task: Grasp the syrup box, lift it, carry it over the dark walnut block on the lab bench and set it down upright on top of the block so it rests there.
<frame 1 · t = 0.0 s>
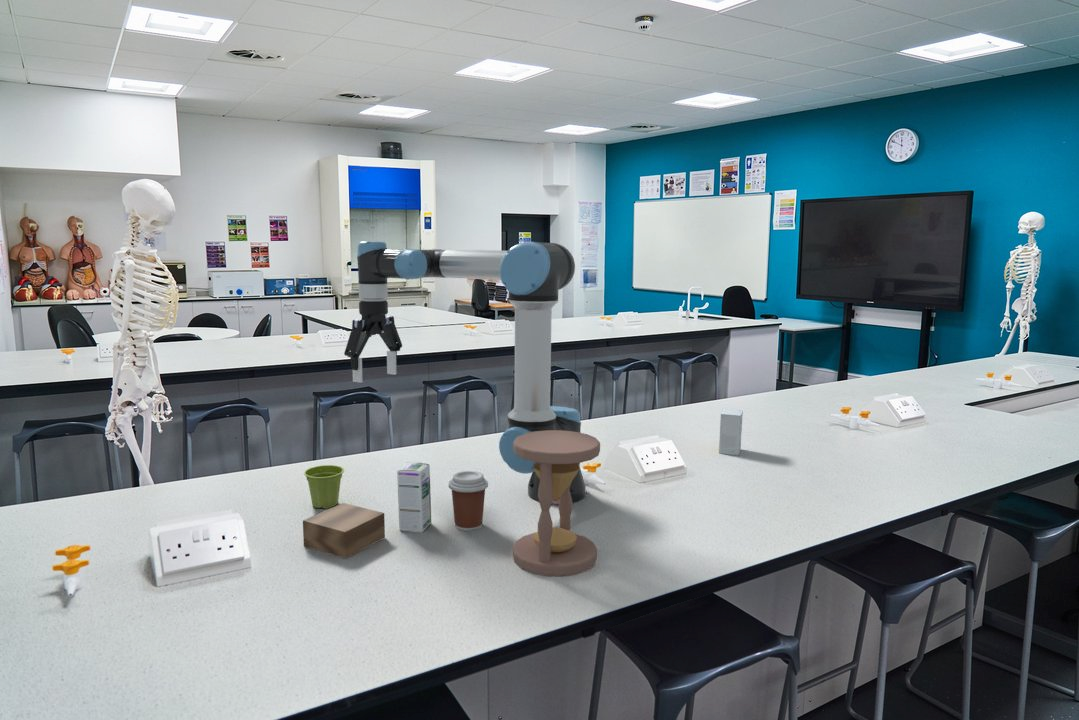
hand: (375, 378, 189), 28 cm above the table, fingers open, 13 cm apart
small box: (729, 452, 223), on the table
base block: (345, 542, 151), on the table
plant pot: (325, 505, 172), on the table
coffee cup: (468, 526, 161), on the table
hourglass: (554, 558, 144), on the table
syrup box: (415, 527, 159), on the table
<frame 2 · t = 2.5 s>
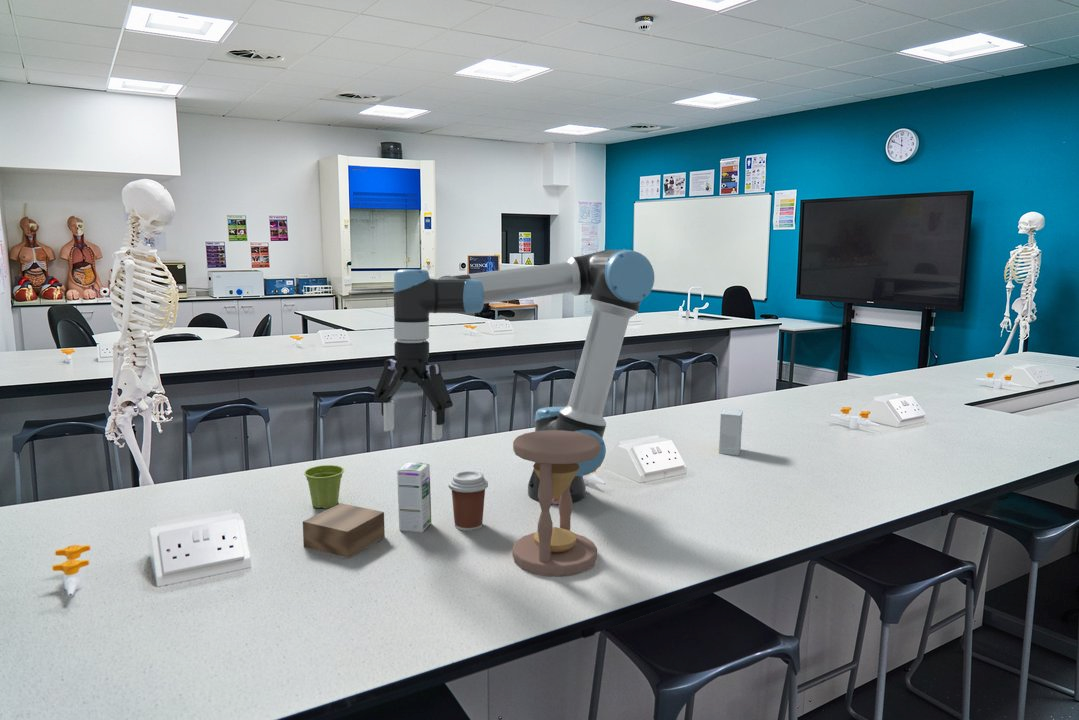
hand: (412, 434, 156), 22 cm above the table, fingers open, 13 cm apart
nothing on the table moved.
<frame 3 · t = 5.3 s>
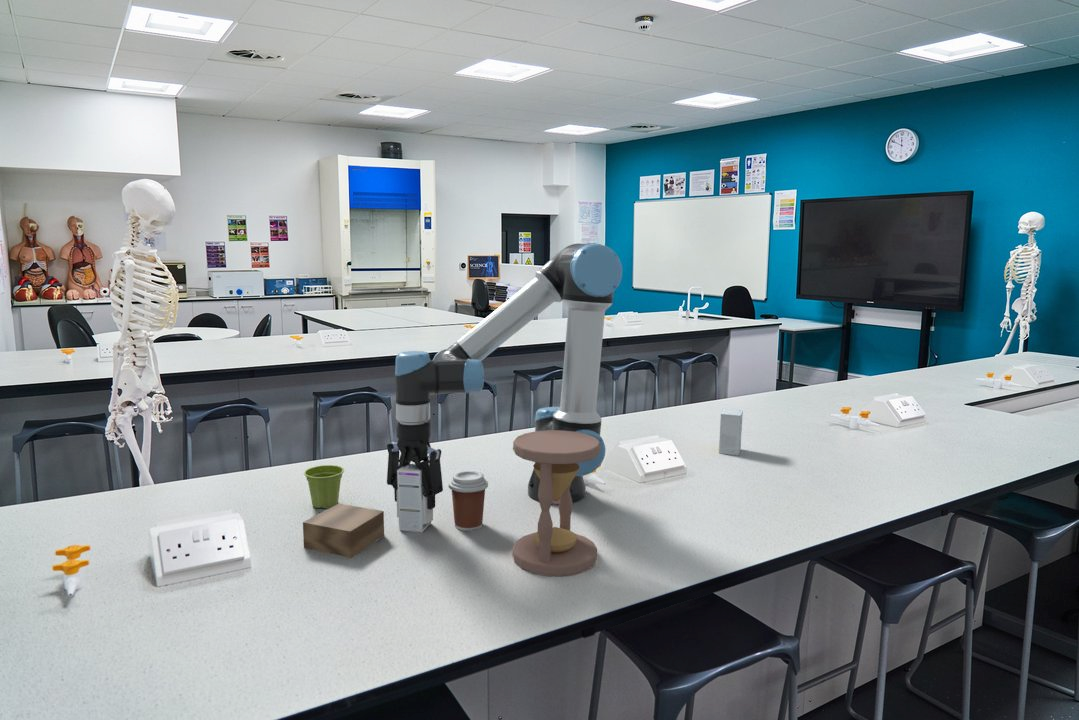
hand: (415, 518, 159), 2 cm above the table, fingers closed on syrup box, 7 cm apart
syrup box: (415, 527, 159), on the table, touching gripper
everything else where it was.
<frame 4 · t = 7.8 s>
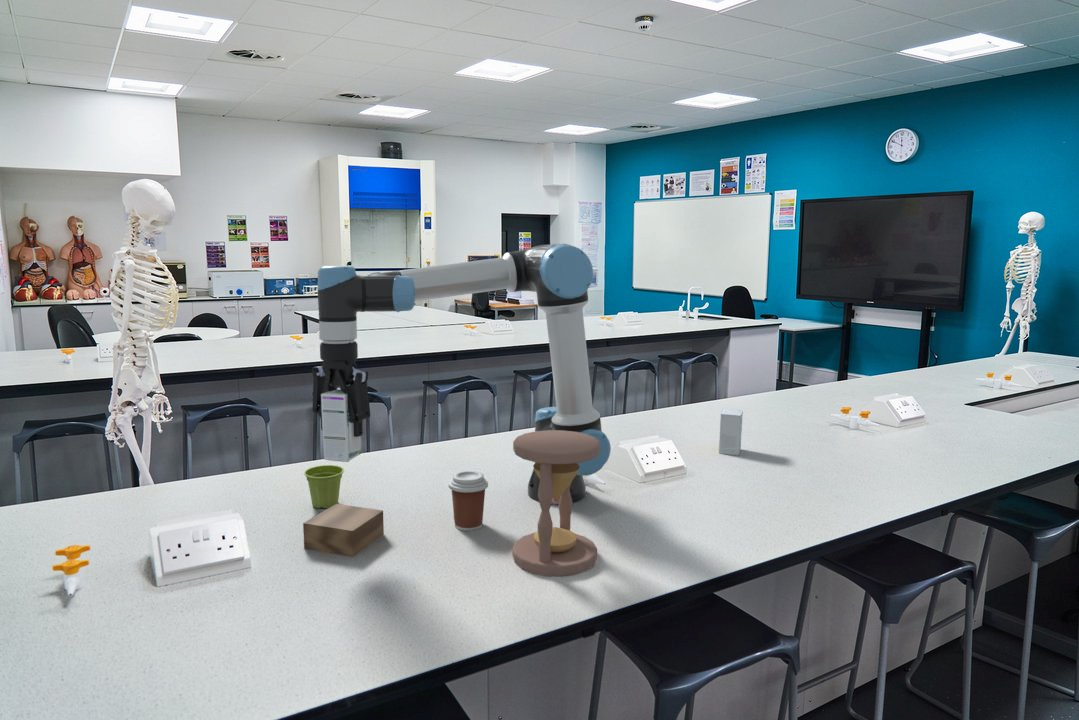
hand: (342, 448, 148), 21 cm above the table, fingers closed on syrup box, 7 cm apart
syrup box: (341, 458, 148), point 19 cm above the table, touching gripper
everything else where it was.
when the fingers open (9 cm above the table, at t = 10.7 s): syrup box drops 1 cm, point 5 cm above the table.
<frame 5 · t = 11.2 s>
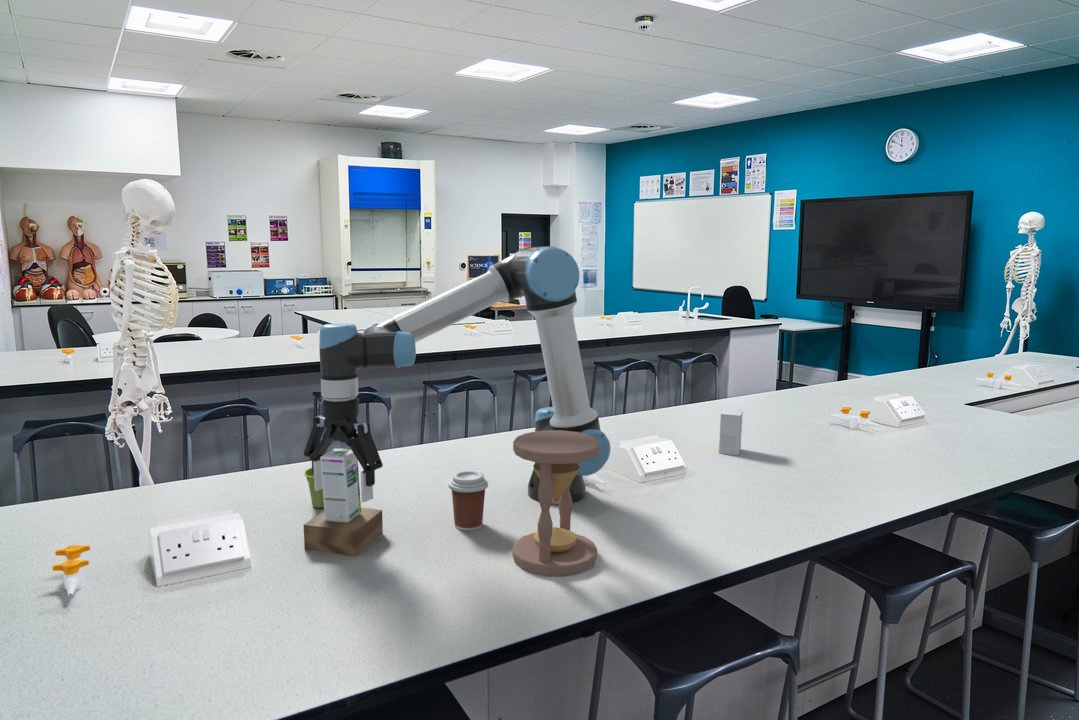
hand: (343, 494, 149), 11 cm above the table, fingers open, 13 cm apart
syrup box: (342, 517, 150), point 5 cm above the table
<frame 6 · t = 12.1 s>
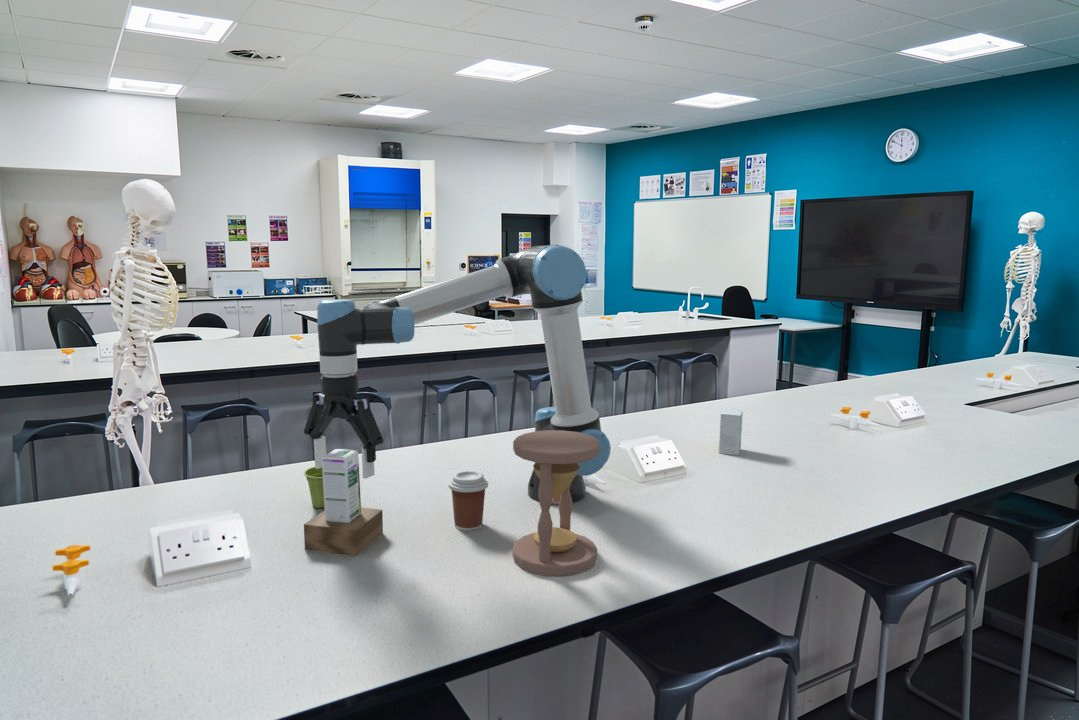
hand: (344, 471, 148), 16 cm above the table, fingers open, 13 cm apart
base block: (345, 543, 151), on the table, touching syrup box
syrup box: (343, 518, 150), point 5 cm above the table, touching base block
everything else where it was.
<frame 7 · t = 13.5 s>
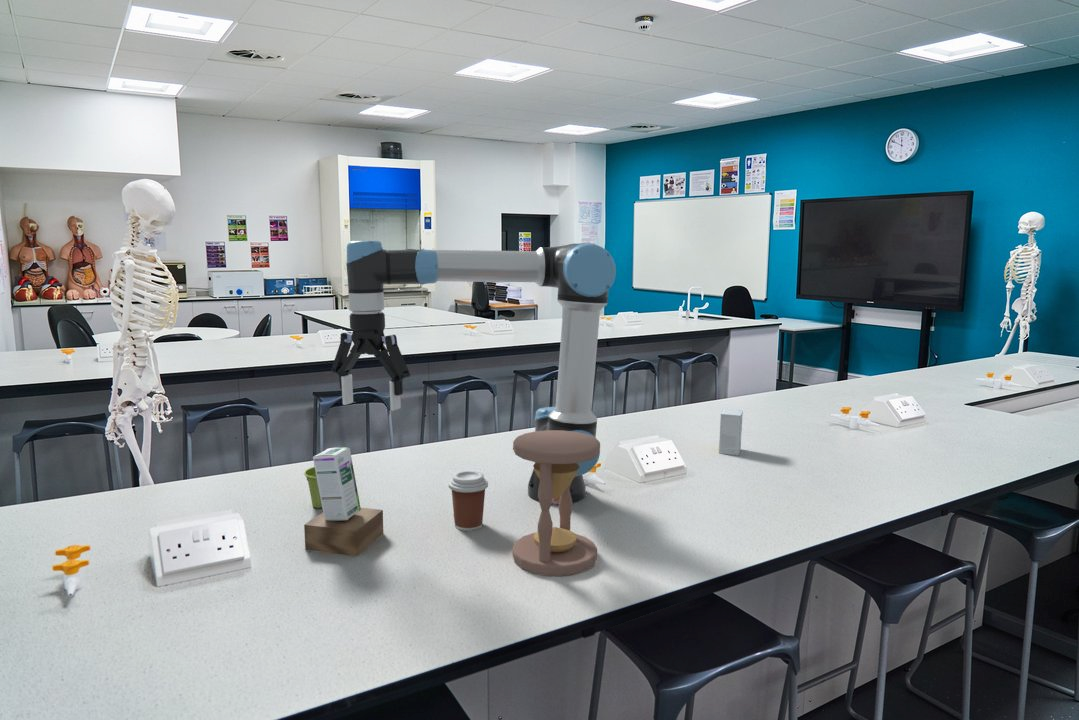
hand: (371, 406, 156), 28 cm above the table, fingers open, 13 cm apart
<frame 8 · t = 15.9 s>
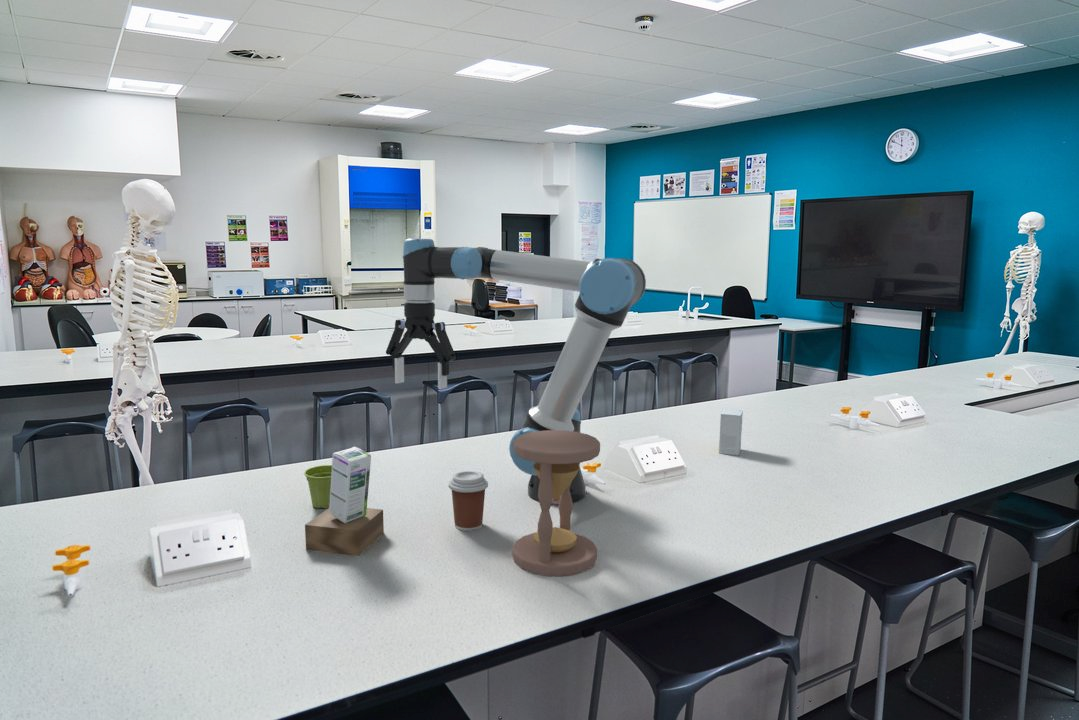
hand: (420, 385, 176), 29 cm above the table, fingers open, 13 cm apart
base block: (346, 543, 151), on the table
syrup box: (347, 515, 150), point 6 cm above the table
everything else where it was.
at the end: syrup box inside the target area on the base block (0.4 cm from its centre), point 6.4 cm above the base block's base; syrup box tilted 11°; the gripper is holding nothing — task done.
